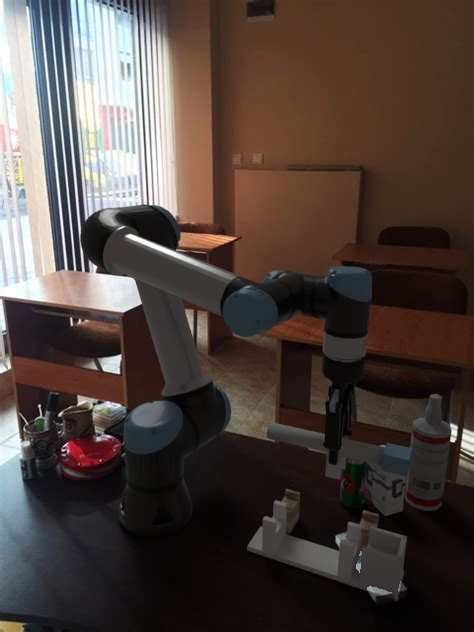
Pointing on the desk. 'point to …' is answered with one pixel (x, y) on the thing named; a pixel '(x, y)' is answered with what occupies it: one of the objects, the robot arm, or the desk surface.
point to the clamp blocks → (293, 515)
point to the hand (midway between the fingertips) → (335, 471)
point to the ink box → (384, 489)
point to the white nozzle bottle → (428, 458)
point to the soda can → (353, 483)
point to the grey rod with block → (347, 448)
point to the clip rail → (336, 553)
